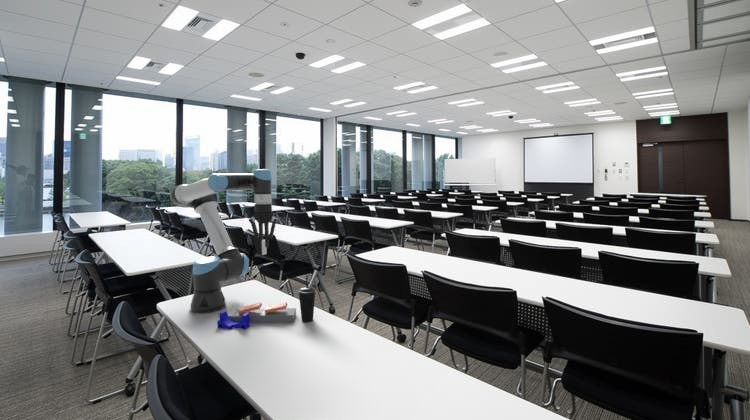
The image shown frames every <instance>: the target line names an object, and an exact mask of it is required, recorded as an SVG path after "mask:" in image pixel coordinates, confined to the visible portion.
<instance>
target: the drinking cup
mask: <svg viewBox="0 0 750 420" xmlns="http://www.w3.org/2000/svg"><path fill="white" fill-rule="evenodd" d="M308 277H309V276H308V275H305V282H306V285H305V286H303V287H300V288H298V290H297V292H298V299H299V307H300V316H301V317H300V318H301V322H302V323H310V322H313V320H314V312H315V311H314V310H315V299H316V291H317V289H316V288H315V287H314V286H309V285H308V284H309V281H308V280H309V278H308Z"/></svg>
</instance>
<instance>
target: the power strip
mask: <svg viewBox="0 0 750 420" xmlns="http://www.w3.org/2000/svg"><path fill="white" fill-rule="evenodd" d="M265 309H266V308H260V309H257V310H254V311H250V312H246V313H249V317H250V324H277V323H278V324H279V323H280V324H284V323H294V322H295V320H296V316H297V308H296V307H289V308H288V307H286V309H283V310H278V311H274V312H269V313H265ZM239 310H240V309H239V308H237V309H236V310H235V311H234V312H233V313H232V315H228V316H229V318H230V319H231V320H233V321H235V322H240V321H241V319H242V315H243V314H245V313H243V314H239V313H238V311H239Z"/></svg>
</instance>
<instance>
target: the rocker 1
mask: <svg viewBox="0 0 750 420" xmlns="http://www.w3.org/2000/svg"><path fill="white" fill-rule="evenodd" d="M262 306H263V303H262V302H257V303H253V304H249V305H245V306H243V307H240V310H239V311H238V313H239V314H243V313H246V312H250V311H254V310H257V309H262V308H261V307H262Z"/></svg>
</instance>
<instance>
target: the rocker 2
mask: <svg viewBox="0 0 750 420" xmlns="http://www.w3.org/2000/svg"><path fill="white" fill-rule="evenodd" d="M286 308H288V302H287V301H286V302H282V303H277V304H272V305H268V306H266V307H265V308H264V309H265V313H269V312H274V311H278V310H283V309H286Z"/></svg>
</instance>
